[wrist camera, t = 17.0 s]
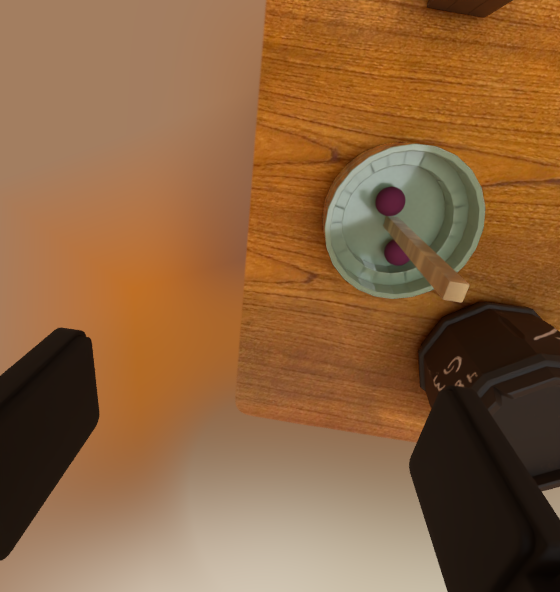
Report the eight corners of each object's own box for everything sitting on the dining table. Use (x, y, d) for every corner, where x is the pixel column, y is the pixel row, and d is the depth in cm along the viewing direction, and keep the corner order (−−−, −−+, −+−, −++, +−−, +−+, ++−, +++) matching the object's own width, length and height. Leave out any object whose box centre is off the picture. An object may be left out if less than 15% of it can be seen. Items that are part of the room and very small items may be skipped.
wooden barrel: (542, 394, 52) (631, 493, 38) (416, 408, 55) (456, 506, 41) (557, 283, 45) (674, 354, 31) (411, 304, 47) (458, 380, 33)
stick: (383, 226, 43) (442, 299, 24) (386, 214, 42) (449, 281, 24) (394, 228, 43) (462, 303, 24) (397, 216, 42) (470, 284, 24)
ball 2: (384, 240, 44) (374, 259, 43) (400, 228, 41) (390, 248, 40) (404, 255, 44) (395, 274, 43) (422, 244, 41) (413, 264, 40)
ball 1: (364, 201, 40) (383, 217, 38) (383, 177, 39) (403, 191, 37) (378, 210, 42) (396, 225, 41) (396, 187, 41) (416, 201, 39)
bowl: (295, 203, 43) (294, 214, 37) (417, 108, 38) (436, 105, 32) (368, 300, 48) (377, 323, 42) (485, 228, 43) (511, 242, 37)
